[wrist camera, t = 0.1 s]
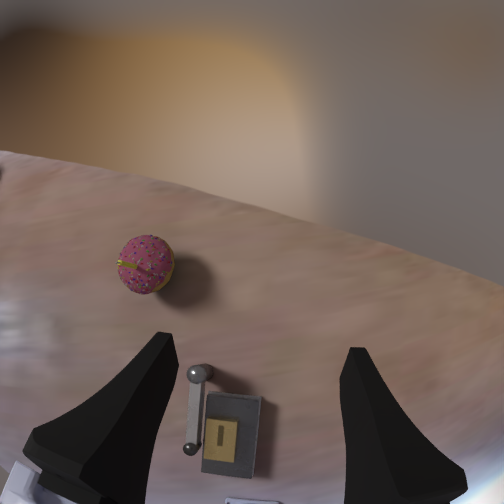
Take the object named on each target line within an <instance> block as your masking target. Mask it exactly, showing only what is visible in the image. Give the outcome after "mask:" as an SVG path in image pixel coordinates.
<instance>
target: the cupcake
mask: <svg viewBox="0 0 504 504" xmlns="http://www.w3.org/2000/svg"><path fill="white" fill-rule="evenodd" d="M116 264H118V272H119V276H120V278H121V280H122V282H123V283H124V285H126V286H127V287H128V288H129V289H130V290H131V291H133V292H136V293H139V294H149V293H151V292H155V291H158V290H160V289H161V288H162V287H163V286H164V285H166V284H167V283H168V281H169V280H170V277H171V275H172V272H173V269H174V266H175V263H174V255H173V251H172V249H171V248H170V247H169V245H168V244H167V243H166V242H165V241H164V240H163V239H161V238H159V237H157V236H152V235H142V236H139V237H136V238H133V239H131V240H130V241H129V242H128V244H127V245H125V246H124V249H123V250H122V252H121V253H120V257H119V261H118V262H116Z"/></svg>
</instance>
